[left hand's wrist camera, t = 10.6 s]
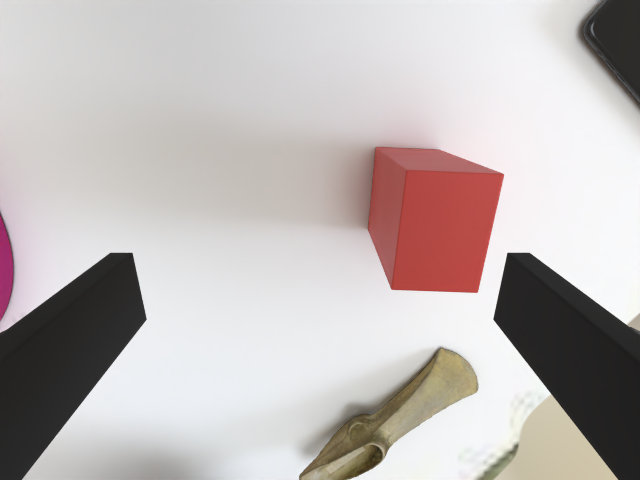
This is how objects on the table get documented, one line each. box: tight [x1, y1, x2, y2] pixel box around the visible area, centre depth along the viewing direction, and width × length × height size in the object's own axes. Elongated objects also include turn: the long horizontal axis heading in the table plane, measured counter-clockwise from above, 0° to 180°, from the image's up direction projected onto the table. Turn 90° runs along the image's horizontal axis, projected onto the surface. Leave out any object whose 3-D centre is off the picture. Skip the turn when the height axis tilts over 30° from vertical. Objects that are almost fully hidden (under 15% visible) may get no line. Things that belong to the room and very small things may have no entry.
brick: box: [368, 147, 504, 293], centre depth 26 cm, size 8×6×11 cm
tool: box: [299, 348, 478, 480], centre depth 38 cm, size 22×6×5 cm, turn 123°
